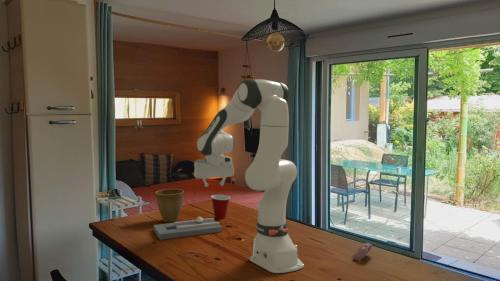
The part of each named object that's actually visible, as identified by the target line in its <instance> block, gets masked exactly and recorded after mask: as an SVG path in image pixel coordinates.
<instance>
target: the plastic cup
mask: <svg viewBox="0 0 500 281" xmlns="http://www.w3.org/2000/svg"><path fill="white" fill-rule="evenodd" d="M210 197H211V202H212V207H213V213H214V217H215V218H214V219H217V220H224V219H226V217H227V212H228V206H229V202H230V199H231V196H229V195H224V194H213V195H210Z"/></svg>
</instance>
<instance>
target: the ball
mask: <svg viewBox="0 0 500 281" xmlns="http://www.w3.org/2000/svg"><path fill="white" fill-rule="evenodd" d="M203 219H204V218H203V217H202V216H197V217H196V218H195V219H194V220H195V222H196V224H202V223H203Z"/></svg>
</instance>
